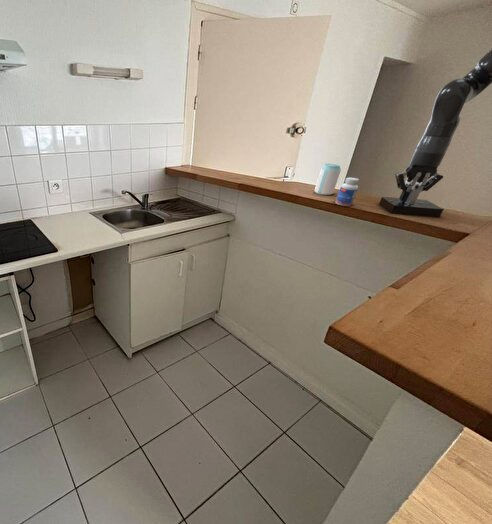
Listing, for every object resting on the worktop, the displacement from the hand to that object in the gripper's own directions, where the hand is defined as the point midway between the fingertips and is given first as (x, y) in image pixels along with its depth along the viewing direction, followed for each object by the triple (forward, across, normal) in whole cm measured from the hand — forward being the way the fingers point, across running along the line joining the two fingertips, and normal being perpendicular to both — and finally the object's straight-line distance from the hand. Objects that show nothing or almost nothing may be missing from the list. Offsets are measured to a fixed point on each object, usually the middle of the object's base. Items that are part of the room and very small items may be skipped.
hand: (406, 201), depth 101 cm
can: (+3, -21, +18) cm, 28 cm away
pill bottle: (+3, -18, +3) cm, 19 cm away
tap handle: (0, 0, 0) cm, 0 cm away
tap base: (+3, +2, 0) cm, 4 cm away
